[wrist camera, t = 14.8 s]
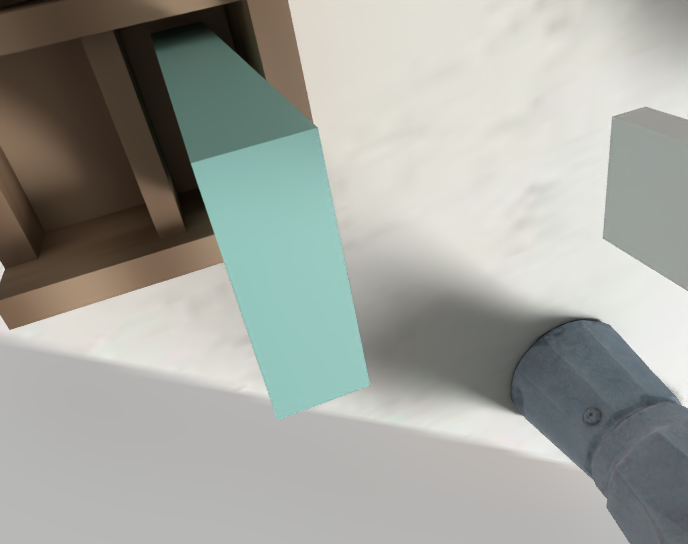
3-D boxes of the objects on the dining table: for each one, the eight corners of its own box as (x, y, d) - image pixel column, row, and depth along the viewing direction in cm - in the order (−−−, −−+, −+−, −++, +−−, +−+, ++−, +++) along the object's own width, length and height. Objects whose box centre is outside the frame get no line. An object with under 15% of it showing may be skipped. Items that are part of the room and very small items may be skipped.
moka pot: (507, 303, 37) (823, 595, 20) (672, 317, 43) (1019, 549, 26) (456, 420, 40) (687, 747, 24) (615, 417, 46) (887, 676, 30)
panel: (201, 21, 22) (318, 127, 9) (239, 155, 25) (370, 385, 12) (149, 33, 22) (190, 163, 9) (194, 168, 25) (277, 420, 11)
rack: (163, -347, 18) (184, -500, 12) (289, 174, 28) (337, 239, 22) (-262, -299, 16) (-505, -455, 10) (33, 249, 26) (4, 346, 19)
